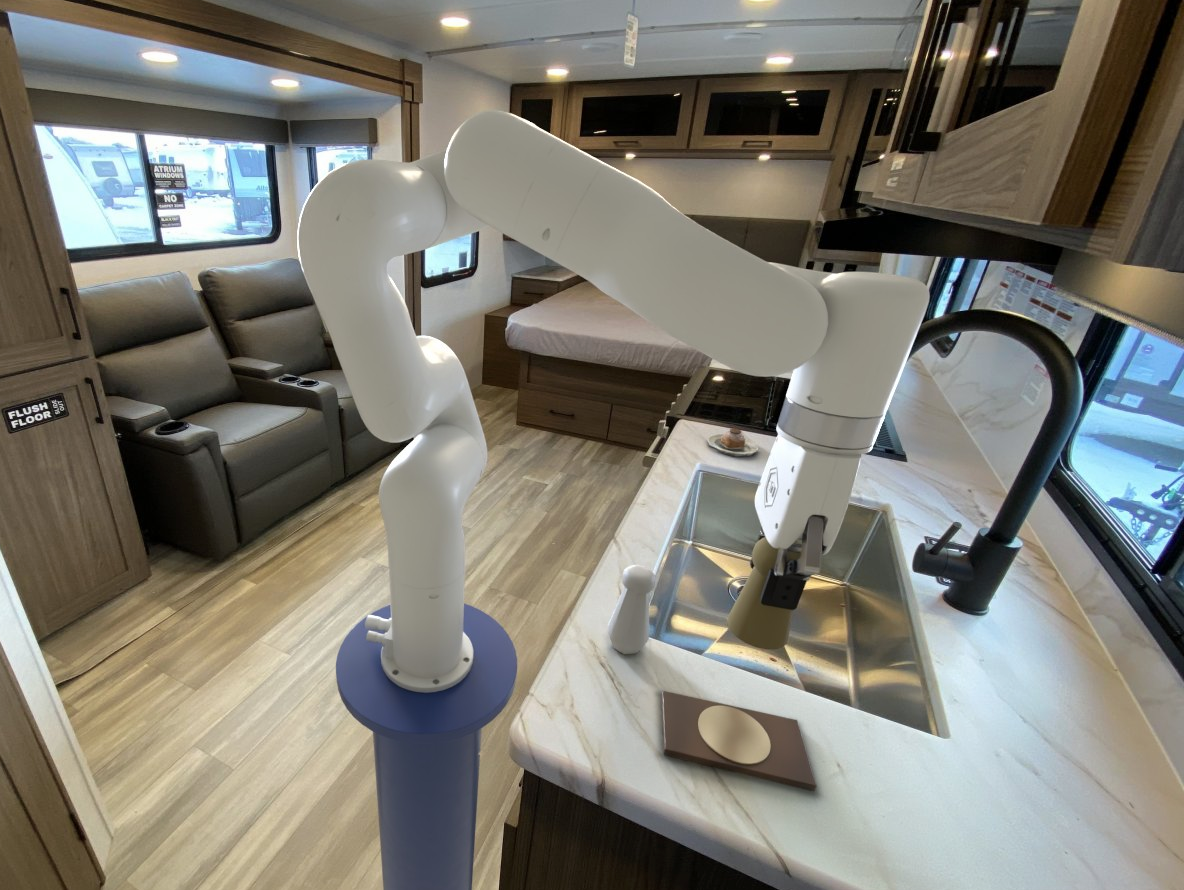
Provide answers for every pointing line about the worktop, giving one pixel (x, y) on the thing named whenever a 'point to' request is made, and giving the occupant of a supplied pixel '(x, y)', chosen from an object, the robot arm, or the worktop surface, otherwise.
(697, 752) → the serving board
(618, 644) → the salt shaker
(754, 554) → the pepper shaker
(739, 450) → the pastry
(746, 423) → the worktop surface
